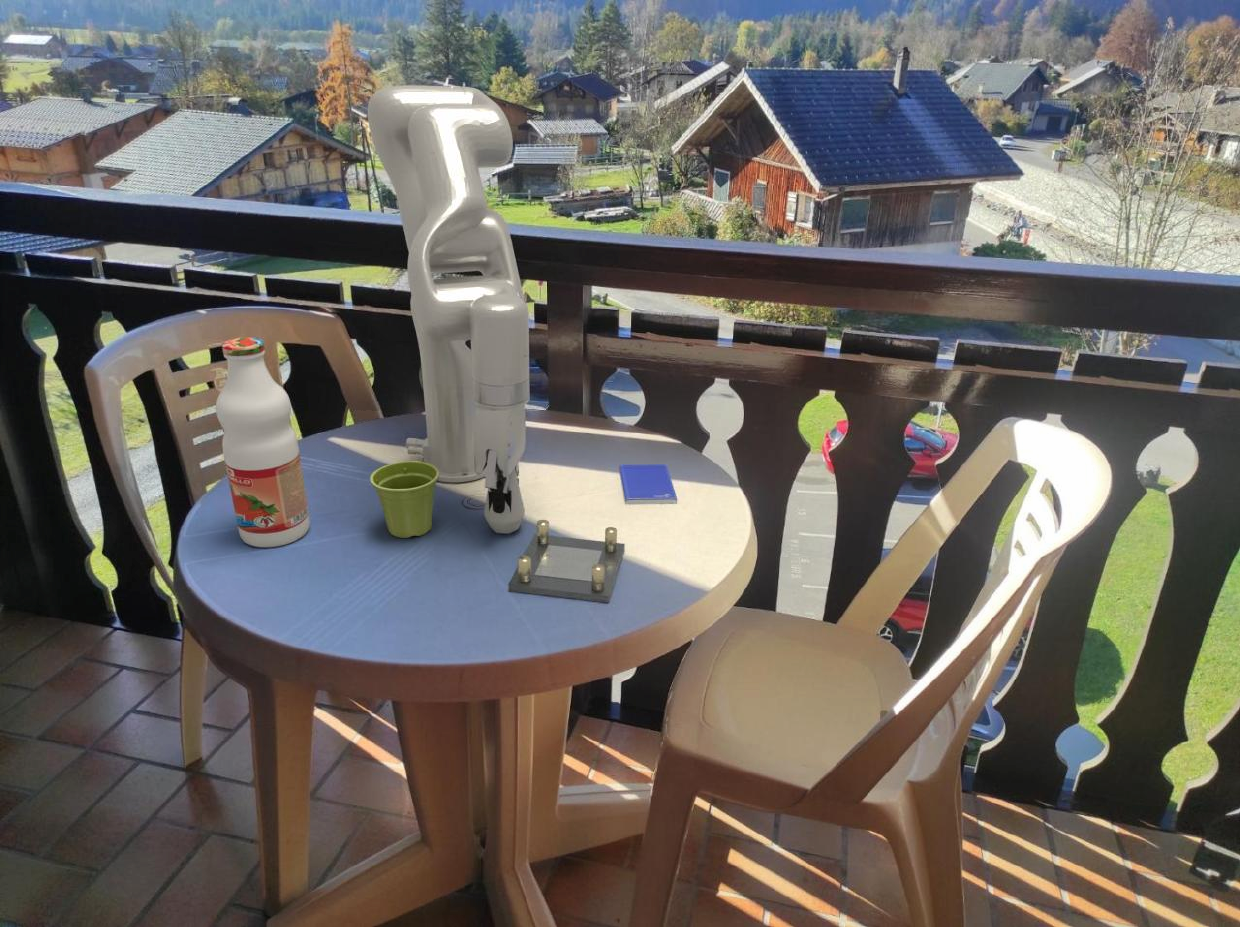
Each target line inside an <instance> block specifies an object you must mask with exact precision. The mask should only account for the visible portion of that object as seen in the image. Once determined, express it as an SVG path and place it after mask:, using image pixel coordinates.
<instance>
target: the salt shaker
mask: <svg viewBox="0 0 1240 927" xmlns="http://www.w3.org/2000/svg"><path fill="white" fill-rule="evenodd" d="M517 461H518V459H517ZM498 470H500V469H499V468H498ZM517 478H518V477H517V475H516V471H515V468H514V469H513V471H512V472H511V473H510V474H509V490H511V492H512V503H511V512H510V508H509V506H508V505H507V503H506V501H505V510H504V512H503V513H495V512H494V511H493V503H492V505H491V508H490V511H489V495H488V490H487V494H486V498H485V504H484V510H483V514H484V515H483V516H484V518H485V519H486V521H487V523H488V525H489V527H490V529H492V530H493V532H495V533H497V534H508V535H509V534H511V533H513V532H515V531H517V530H519V529H520V526H521V524H522V522H523V520H524V517H525V512H526V509H525V506H524V500H523V497H522V493H521V488H520V482H519V483H518V479H517ZM497 480H501V481H502V482H503V477H497Z"/></svg>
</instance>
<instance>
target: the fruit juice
mask: <svg viewBox="0 0 1240 927" xmlns="http://www.w3.org/2000/svg"><path fill="white" fill-rule="evenodd" d="M221 349H222V351H221V352H222V353H223V357H224V358H225V359H226V361H227V362H226V363H227V374H226V380H225V384H224V386H223V388H222V390H221V391H220V393H219V395H218V396H217V399H216V403H215V414H216V417H217V420H218V422H219V424H220V425H221V427H222V429H223V433H224V434H223V436H222V442H221V444H222V453H223V460H224V464H225V469H226V470H225V471H226V474H227V479H228V483H229V489H230V494H231V500H232V505H233V509H234V514H235V518H236V524H237V528H238V529H237V530H238V534H239V536H240V538H241V540H242V541H243V542H244V543H245V544H247V545H249V546H251V547H256V548H257V547H258V548H274V547H281V546H285V545H289V544H292V543H293V542H296V541H297V540H299V539H301V538H302V537H304V536H305V535H306V534H307V532H309V529H310V525H311V524H310V523H311V522H310V520H311V519H310V513H309V507H308V506H309V505H308V500H307V492H306V487H305V480H304V474H303V468H302V461H301V455H300V447H299V443H298V439H297V438H298V437H297V435H296V432H295V430H294V428H293V426H292V425H291V422H290V421H291V420H290V419H291V413H292V405H291V400H290V397H289V394H288V393H287V391H286V390H285V389H284V388H283V386H281V385H279V383H278V382H276V381H275V379H273V377H272V376H271V374H270V372H269V370H268V368H267V365H266V363H265V360H264V355H265V353H266V351H265V350H266V349H265V344H264V341H263V340H262V339H261V338H258V337H257V338H256V337H237V338H232V339H229V340H226V341H223V343H222V345H221Z"/></svg>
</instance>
